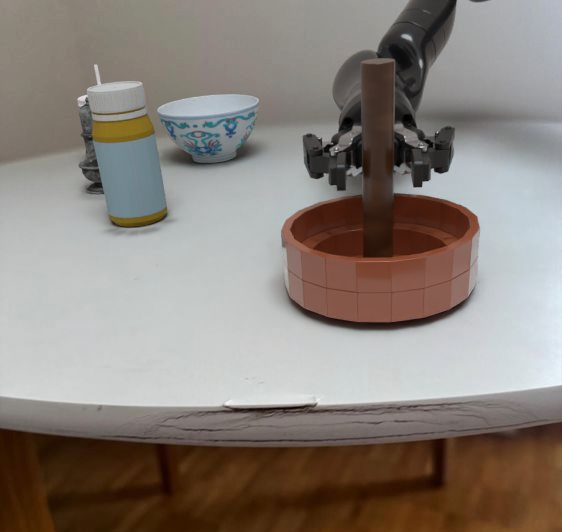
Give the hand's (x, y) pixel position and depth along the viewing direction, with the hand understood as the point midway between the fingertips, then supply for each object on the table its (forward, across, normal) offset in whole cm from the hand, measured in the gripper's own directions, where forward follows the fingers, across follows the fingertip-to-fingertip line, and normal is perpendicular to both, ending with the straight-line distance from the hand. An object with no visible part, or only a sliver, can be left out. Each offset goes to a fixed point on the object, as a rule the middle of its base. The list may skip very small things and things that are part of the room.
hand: (379, 176), depth 55 cm
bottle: (-24, +28, -11) cm, 39 cm away
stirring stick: (-3, 0, -10) cm, 10 cm away
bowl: (-3, 0, -11) cm, 11 cm away
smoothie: (-52, +41, -11) cm, 67 cm away
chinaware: (-51, +24, -11) cm, 57 cm away
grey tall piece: (-37, +37, -11) cm, 54 cm away
